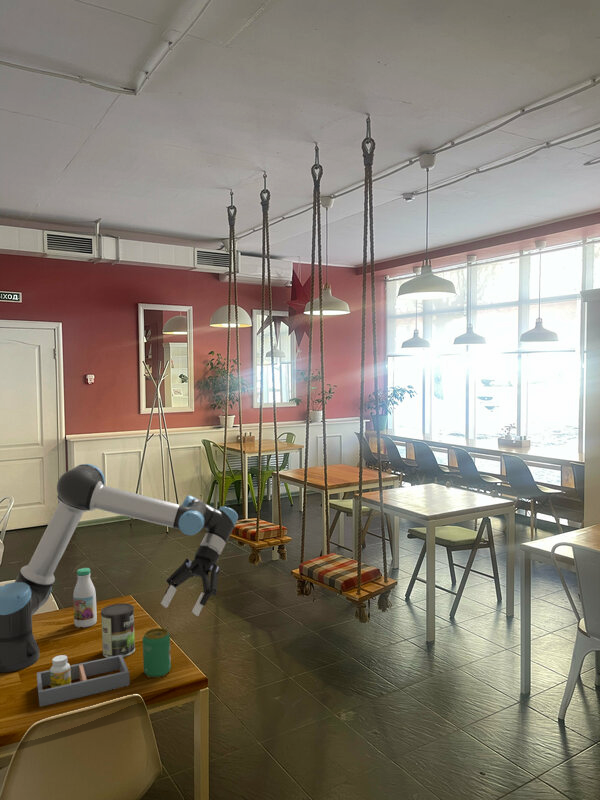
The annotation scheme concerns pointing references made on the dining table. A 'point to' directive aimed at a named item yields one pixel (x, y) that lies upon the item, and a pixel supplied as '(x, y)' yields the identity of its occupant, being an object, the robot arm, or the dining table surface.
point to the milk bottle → (84, 600)
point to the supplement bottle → (60, 671)
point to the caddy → (84, 680)
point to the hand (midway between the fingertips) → (178, 609)
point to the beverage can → (156, 652)
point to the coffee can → (118, 630)
